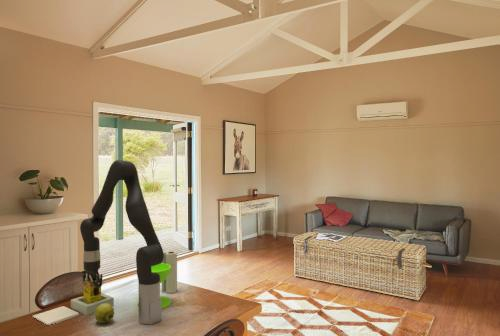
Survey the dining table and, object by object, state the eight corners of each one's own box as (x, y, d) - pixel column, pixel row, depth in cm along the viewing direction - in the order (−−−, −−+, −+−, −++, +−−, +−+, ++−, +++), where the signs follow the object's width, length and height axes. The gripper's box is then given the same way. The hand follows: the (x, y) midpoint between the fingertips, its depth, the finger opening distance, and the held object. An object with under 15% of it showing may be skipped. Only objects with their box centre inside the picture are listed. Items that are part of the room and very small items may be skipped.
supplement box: (90, 306, 178) (89, 283, 177) (83, 303, 181) (83, 281, 181) (101, 302, 182) (101, 280, 182) (94, 300, 186) (94, 278, 186)
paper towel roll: (179, 290, 206) (178, 251, 205) (173, 294, 200) (173, 254, 199) (167, 289, 207) (166, 250, 207) (161, 292, 202) (161, 253, 201)
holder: (113, 305, 184) (113, 297, 184) (86, 315, 172) (86, 306, 172) (97, 299, 192) (97, 291, 192) (70, 308, 181) (70, 299, 181)
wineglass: (175, 298, 194) (174, 263, 193) (164, 310, 178) (164, 273, 177) (144, 297, 195) (144, 262, 195) (132, 309, 180) (132, 271, 179)
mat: (79, 315, 173) (79, 313, 172) (47, 326, 161) (47, 323, 161) (63, 308, 181) (63, 305, 181) (32, 317, 170) (32, 315, 170)
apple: (107, 316, 171) (107, 299, 171) (118, 322, 166) (118, 304, 165) (90, 322, 165) (90, 304, 165) (101, 328, 160) (101, 309, 159)
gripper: (107, 259, 180) (108, 294, 180) (90, 255, 189) (91, 288, 189) (93, 263, 174) (93, 299, 174) (76, 258, 183) (77, 293, 183)
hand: (92, 293), depth 182 cm, fingers closed on supplement box, 6 cm apart
